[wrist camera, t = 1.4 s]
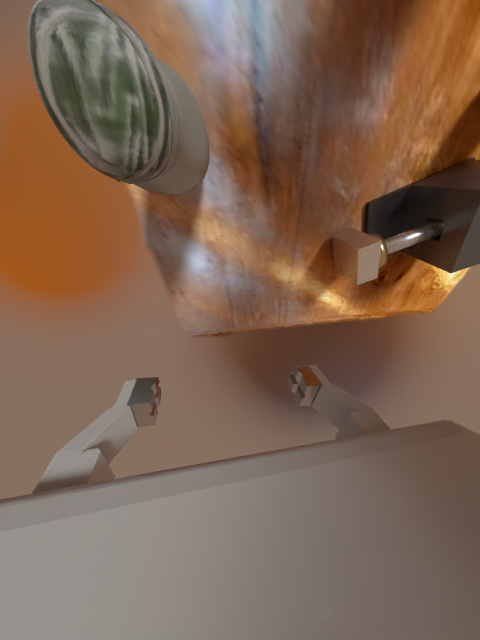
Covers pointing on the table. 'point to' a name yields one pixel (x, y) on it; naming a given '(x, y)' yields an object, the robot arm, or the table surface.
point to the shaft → (374, 249)
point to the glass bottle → (116, 97)
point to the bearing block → (435, 215)
